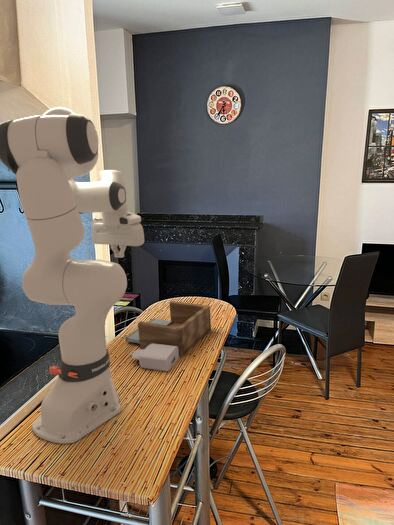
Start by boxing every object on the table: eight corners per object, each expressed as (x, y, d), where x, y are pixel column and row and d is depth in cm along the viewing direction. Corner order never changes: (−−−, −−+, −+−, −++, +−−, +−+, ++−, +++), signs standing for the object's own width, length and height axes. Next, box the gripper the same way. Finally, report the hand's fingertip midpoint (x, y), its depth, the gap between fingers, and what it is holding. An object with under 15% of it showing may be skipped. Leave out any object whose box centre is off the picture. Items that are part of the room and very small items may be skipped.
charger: (137, 353, 133) (179, 358, 127) (123, 366, 124) (167, 373, 119) (136, 340, 131) (178, 344, 126) (121, 352, 123) (166, 358, 118)
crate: (181, 357, 127) (179, 329, 125) (140, 349, 135) (137, 323, 132) (211, 330, 146) (209, 305, 144) (173, 324, 153) (171, 301, 151)
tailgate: (144, 341, 135) (125, 337, 139) (144, 344, 136) (125, 340, 139) (171, 321, 151) (153, 318, 155) (171, 324, 151) (154, 321, 155)
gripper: (85, 218, 139) (90, 257, 143) (134, 219, 130) (137, 261, 133) (97, 216, 145) (102, 253, 148) (145, 216, 135) (148, 256, 139)
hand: (119, 257), depth 141 cm, fingers closed
